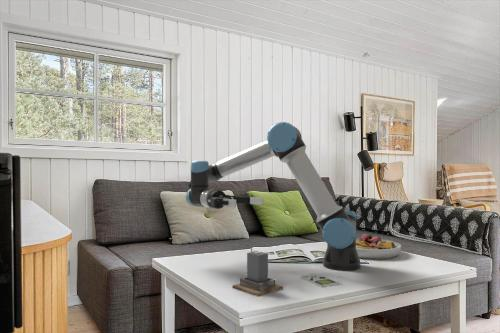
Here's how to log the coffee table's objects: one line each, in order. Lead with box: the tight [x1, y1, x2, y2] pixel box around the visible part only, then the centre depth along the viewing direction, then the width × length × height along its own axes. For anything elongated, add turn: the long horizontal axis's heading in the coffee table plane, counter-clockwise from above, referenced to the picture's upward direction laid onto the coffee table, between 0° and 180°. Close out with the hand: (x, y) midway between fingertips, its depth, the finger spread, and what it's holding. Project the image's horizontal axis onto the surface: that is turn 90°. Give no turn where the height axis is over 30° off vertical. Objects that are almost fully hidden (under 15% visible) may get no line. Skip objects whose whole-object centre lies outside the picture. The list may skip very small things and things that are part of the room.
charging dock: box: [232, 276, 283, 297], centre depth 136 cm, size 12×12×3 cm
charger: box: [246, 250, 269, 283], centre depth 136 cm, size 4×6×11 cm
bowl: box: [356, 233, 402, 260], centre depth 193 cm, size 30×30×8 cm
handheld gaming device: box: [299, 273, 342, 288], centre depth 146 cm, size 9×1×15 cm
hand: (249, 202), depth 148 cm, fingers open, 13 cm apart
